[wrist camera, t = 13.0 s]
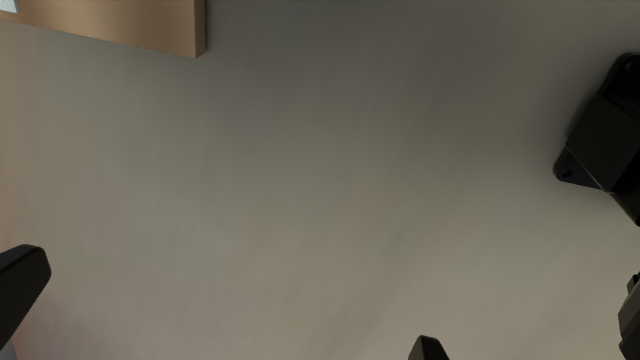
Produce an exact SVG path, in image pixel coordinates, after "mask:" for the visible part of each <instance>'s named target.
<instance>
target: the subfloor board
mask: <svg viewBox="0 0 640 360" xmlns="http://www.w3.org/2000/svg"><path fill="white" fill-rule="evenodd" d="M0 19H5V20H10V21H14V22H19V23H24V24H29V25H34V26H39V27H44V28H49V29H53V30H58V31H63V32H68V33H73V34H78V35H83V36H88V37H92V38H97V39H102V40H107V41H112V42H117V43H122V44H127V45H132V46H136V47H141V48H146V49H151V50H156V51H161V52H166V53H171V54H175V55H180V56H185V57H190V58H195V59H196V58H197V57H199V56H201V55H202V54H204V53H206V51H205V0H0Z"/></svg>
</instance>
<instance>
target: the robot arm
mask: <svg viewBox="0 0 640 360" xmlns="http://www.w3.org/2000/svg"><path fill="white" fill-rule="evenodd" d="M631 61H634V65H633V66H632V67H631V68H630V69H628V70H626V69H625V68H626V65H627V64H628V63H629V62H631ZM565 145H566V148H565V150H564V152H563V153H562V155H561V157H560V158H559V160H558V162H557V164H556V165H555V167H554V170H553V172H554V175H555V176H556V177H557V179H558V180H560V181H563V182H567V183H572V184H577V185H582V186H586V187H591V188H596V189H601V190H603V191H604V192H607V193H609V195H610V196H611V197H612V198H613V199H614V200H615V201H616V203H617V204H618V205H619V206H620V207H621V208H622V209H623V210H624V212H625V213H626V214H627V215H628V216H629V217H630V218H631V220H632V221H633V222H634V223H635V224H636V225H637V226H639V227H640V54H639V53H627V54H624V55H623V56H621V57H620V58H619V59H618V60H617V61H616V63H615V64H614V66H613V68H612V69H611V71H610V73H609V75H608V76H607V78H606V80H605V81H604V83H603V85H602V87H601V88H600V90H599V92H598V93H597V95H596V96H595V97H594V98H592V99H591V100H590V102H589V104H588V105H587V107H586V109H585V111H584V112H583V114H582V116H581V118H580V119H579V121H578V123H577V124H576V126H575V128H574V130H573V131H572V133H571V135H570V136H569V138H568V140H567V142H566V144H565ZM566 169H569V171H568V172H567V173H564V174H562V172H563V171H564V170H566ZM50 277H51V268H50V265H49V262H48V259H47V256H46V253H45V251H44V249H43V248H41V247H38V246H34V245H29V244H23V245H19V246H17V247H14V248H12V249H9V250H7V251H4V252H2V253H0V351H1V350H2V349H3V347H4V346H5V345H6V343H7V342H8V341H9V339H10V338H11V337H12V335H13V334H14V332H15V331H16V330H17V328H18V327H19V325H20V324H21V322H22V321H23V319H24V318H25V316H26V315H27V313H28V312H29V310H30V309H31V307H32V306H33V304H34V303H35V301H36V300H37V298H38V297H39V295H40V294H41V292H42V291H43V289H44V288H45V286H46V285H47V283H48V281H49V279H50ZM627 289H628V294H629V295H628V296H627V298H626V299H625V301H624V303H623V305H622V307H621V309H620V311H619V313H618V319H619V326H620V334H621V337H622V341H621V342H620V343H619V349H620V350H621V352H622V354H623V356H624V357H625V359H626V360H640V272H639V273H638V275H633V276H632V278H631V279H630V281H629V282H628V284H627ZM408 360H450V359H449V358H448V356H447V354H446V352H445V350H444V349H443V347H442V345H441V343H440V342H439V340H437V339H436V338H433V337H429V336H424V335H420V336H419V337H418V338H417V340H416V342H415V344H414V346H413V348H412V350H411V352H410V354H409V357H408Z"/></svg>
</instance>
